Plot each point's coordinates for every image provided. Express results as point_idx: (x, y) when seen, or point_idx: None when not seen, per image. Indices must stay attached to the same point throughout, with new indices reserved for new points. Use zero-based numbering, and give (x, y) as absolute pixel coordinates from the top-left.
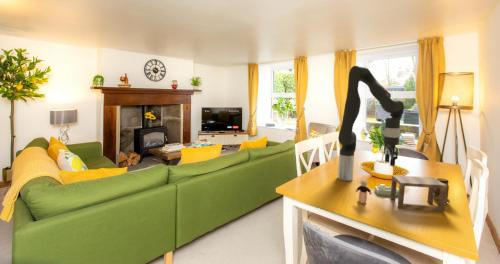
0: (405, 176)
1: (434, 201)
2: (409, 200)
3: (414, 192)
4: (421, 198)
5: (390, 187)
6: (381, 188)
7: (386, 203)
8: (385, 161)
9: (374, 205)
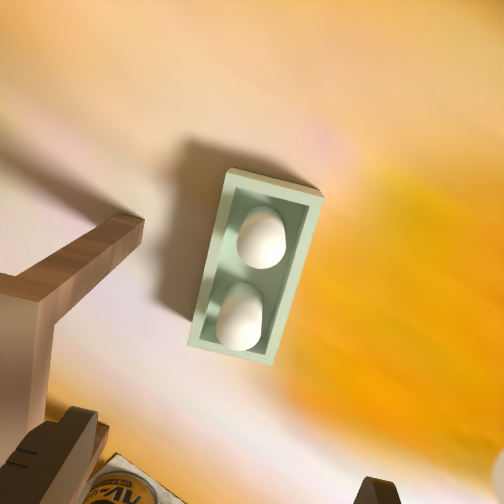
0: (10, 428)
1: (112, 463)
2: (125, 337)
3: (264, 455)
4: (160, 428)
5: (241, 301)
6: (247, 219)
7: (59, 138)
8: (369, 481)
9: (9, 7)
